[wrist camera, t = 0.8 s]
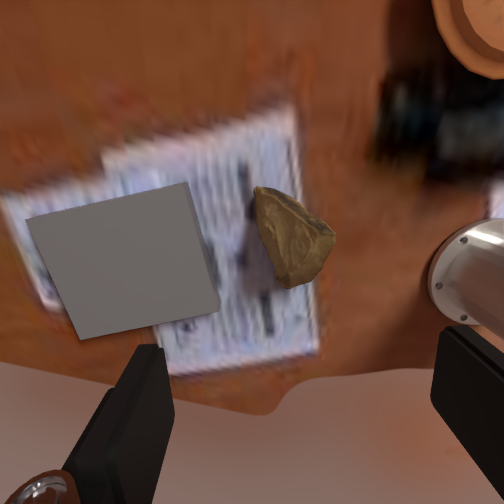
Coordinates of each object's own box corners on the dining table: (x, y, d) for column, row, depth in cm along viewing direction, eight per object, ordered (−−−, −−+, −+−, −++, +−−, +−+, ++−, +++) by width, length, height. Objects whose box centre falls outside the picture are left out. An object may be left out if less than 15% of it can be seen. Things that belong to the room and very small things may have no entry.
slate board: (187, 181, 31) (182, 183, 29) (220, 301, 35) (219, 311, 33) (40, 215, 32) (24, 219, 29) (90, 328, 36) (80, 339, 34)
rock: (319, 306, 33) (364, 226, 29) (279, 334, 26) (330, 235, 22) (248, 255, 38) (277, 180, 34) (198, 268, 31) (227, 176, 27)
